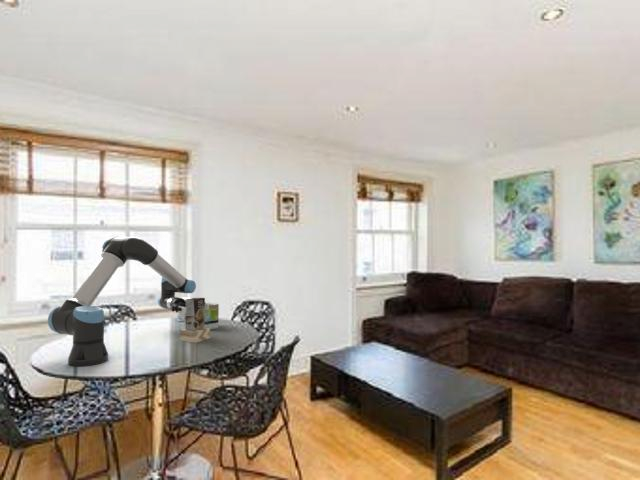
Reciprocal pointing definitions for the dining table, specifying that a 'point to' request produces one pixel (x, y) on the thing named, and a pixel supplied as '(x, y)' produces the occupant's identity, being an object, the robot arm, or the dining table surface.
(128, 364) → the dining table surface
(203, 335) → the birch block
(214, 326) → the tea box
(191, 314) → the coffee box
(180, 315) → the supplement tub
